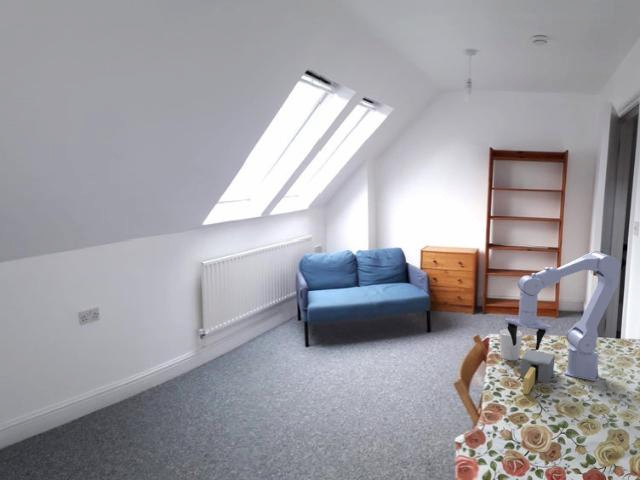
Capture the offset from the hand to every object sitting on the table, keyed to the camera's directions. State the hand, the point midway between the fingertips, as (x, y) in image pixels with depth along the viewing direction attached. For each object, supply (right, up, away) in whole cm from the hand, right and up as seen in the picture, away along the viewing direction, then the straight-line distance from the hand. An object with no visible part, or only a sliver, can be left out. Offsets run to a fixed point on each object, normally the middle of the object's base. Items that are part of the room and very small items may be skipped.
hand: (525, 346), depth 170 cm
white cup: (+1, -8, +16) cm, 18 cm away
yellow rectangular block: (-3, -12, -10) cm, 16 cm away
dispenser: (+4, -10, 0) cm, 11 cm away
